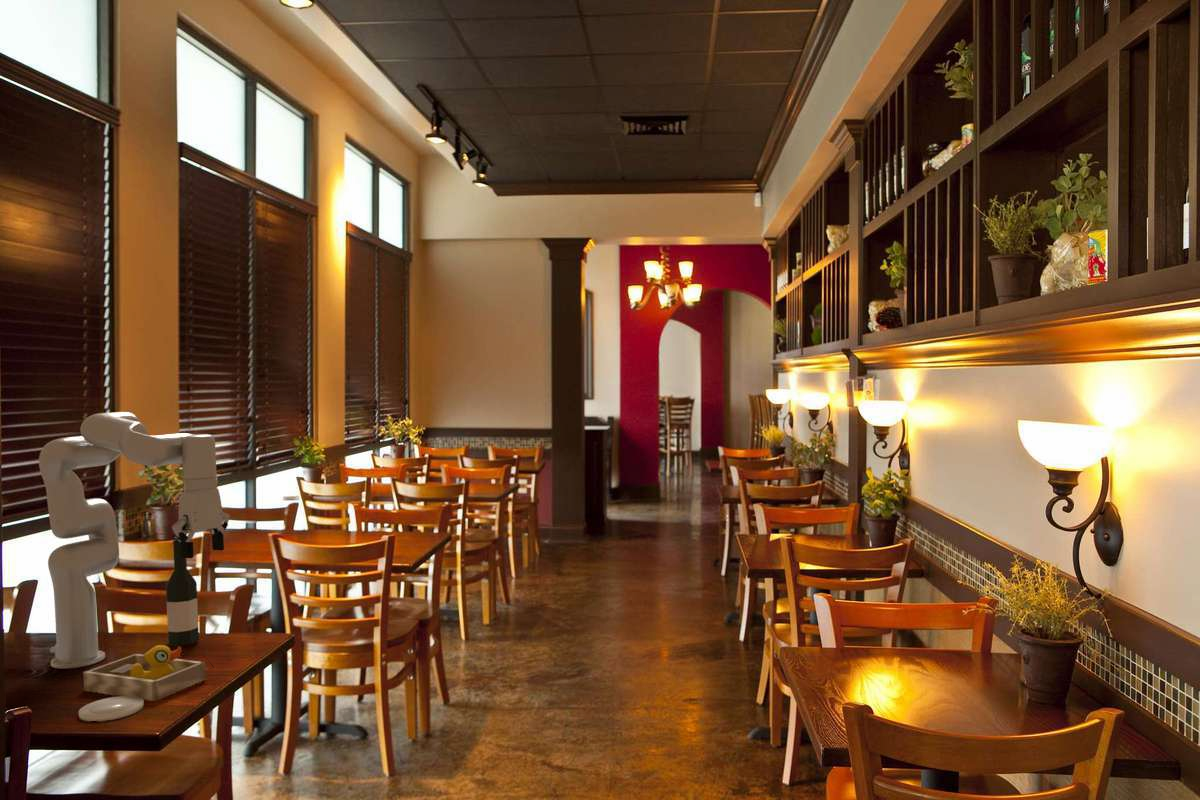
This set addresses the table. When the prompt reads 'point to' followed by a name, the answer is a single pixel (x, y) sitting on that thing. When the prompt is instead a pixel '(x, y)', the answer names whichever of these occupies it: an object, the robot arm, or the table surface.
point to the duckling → (156, 663)
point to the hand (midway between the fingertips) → (203, 553)
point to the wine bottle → (181, 602)
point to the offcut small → (122, 670)
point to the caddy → (147, 689)
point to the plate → (111, 708)
